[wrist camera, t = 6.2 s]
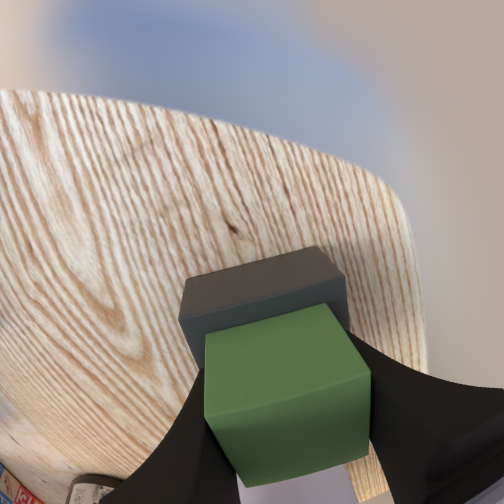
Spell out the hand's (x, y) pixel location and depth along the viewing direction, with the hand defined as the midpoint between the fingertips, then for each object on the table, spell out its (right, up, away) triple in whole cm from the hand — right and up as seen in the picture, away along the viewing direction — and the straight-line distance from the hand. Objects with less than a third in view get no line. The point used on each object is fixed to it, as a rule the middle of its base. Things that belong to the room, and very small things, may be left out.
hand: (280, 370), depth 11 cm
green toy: (0, 0, 0) cm, 0 cm away
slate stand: (0, +1, +4) cm, 4 cm away
